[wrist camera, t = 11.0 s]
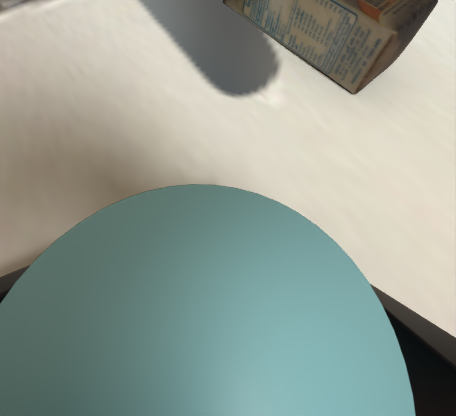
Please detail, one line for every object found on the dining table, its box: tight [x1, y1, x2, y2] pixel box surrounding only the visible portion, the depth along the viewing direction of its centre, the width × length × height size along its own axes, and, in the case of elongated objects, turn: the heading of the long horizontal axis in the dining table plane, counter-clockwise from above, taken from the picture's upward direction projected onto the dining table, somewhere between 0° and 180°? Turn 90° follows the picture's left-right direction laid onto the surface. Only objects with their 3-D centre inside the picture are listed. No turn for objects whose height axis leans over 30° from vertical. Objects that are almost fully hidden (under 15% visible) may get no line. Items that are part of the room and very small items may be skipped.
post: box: [0, 184, 415, 416], centre depth 8 cm, size 4×4×13 cm
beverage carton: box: [223, 0, 438, 94], centre depth 24 cm, size 8×19×7 cm, turn 45°
